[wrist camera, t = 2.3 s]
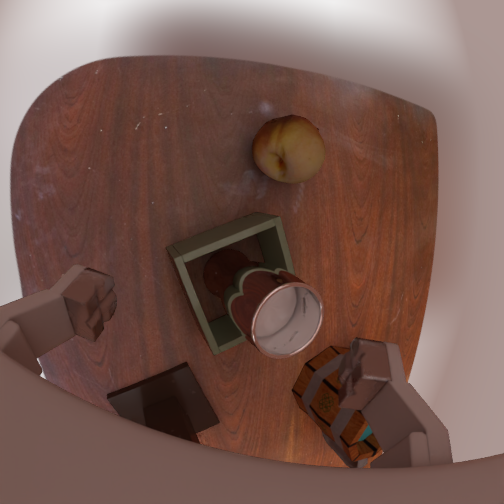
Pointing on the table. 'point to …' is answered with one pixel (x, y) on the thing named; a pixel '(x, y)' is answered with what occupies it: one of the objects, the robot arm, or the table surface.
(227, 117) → the table surface
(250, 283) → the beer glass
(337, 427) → the mug
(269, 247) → the holder
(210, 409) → the stand post
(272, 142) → the fruit
